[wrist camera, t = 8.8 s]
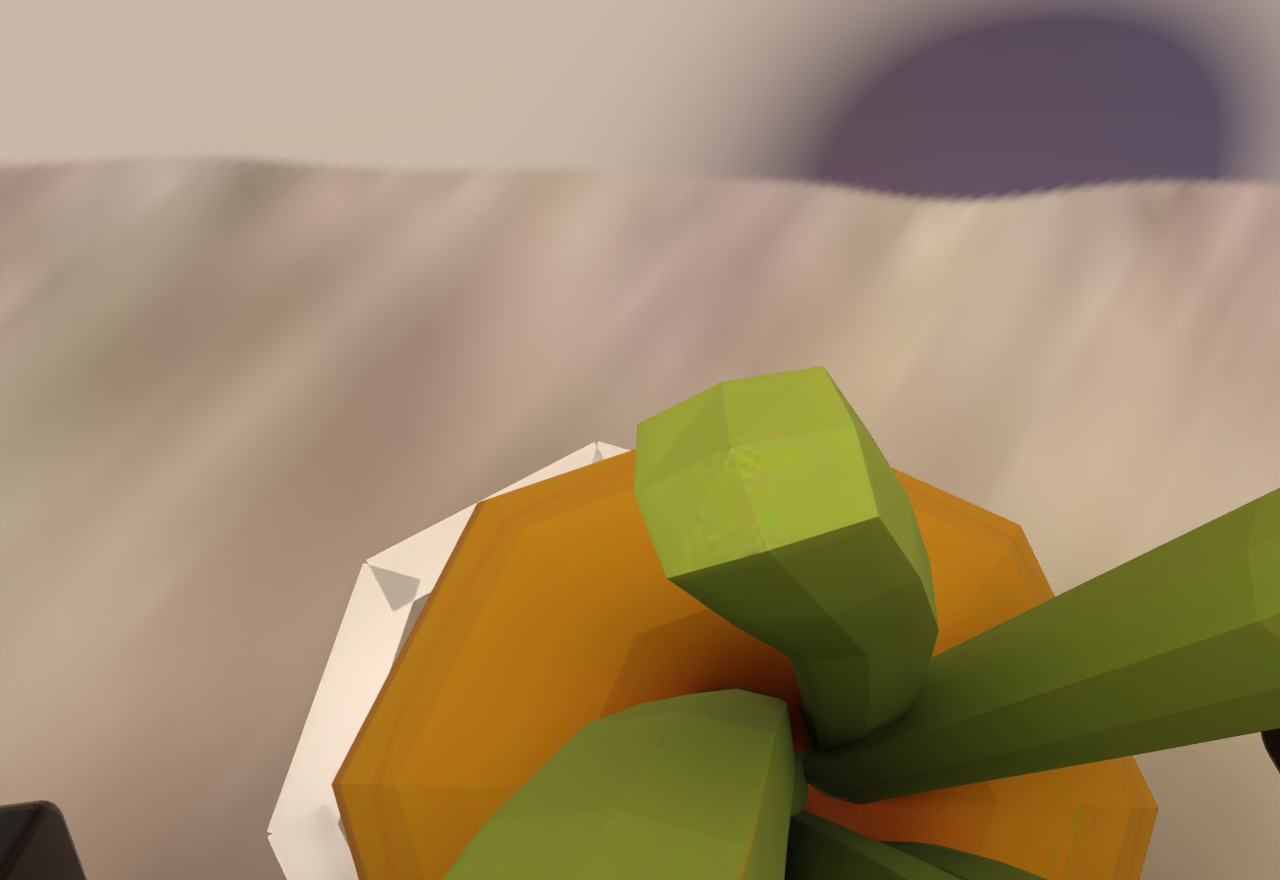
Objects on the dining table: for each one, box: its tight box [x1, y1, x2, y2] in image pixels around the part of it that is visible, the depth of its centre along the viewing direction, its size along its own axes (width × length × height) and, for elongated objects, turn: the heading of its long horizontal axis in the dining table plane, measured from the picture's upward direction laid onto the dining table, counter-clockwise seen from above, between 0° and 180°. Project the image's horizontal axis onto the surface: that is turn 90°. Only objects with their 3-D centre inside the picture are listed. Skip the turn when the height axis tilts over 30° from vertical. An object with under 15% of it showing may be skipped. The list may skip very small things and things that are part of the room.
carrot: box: [331, 366, 1280, 880], centre depth 9 cm, size 5×5×15 cm
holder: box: [267, 441, 631, 880], centre depth 15 cm, size 9×9×3 cm
